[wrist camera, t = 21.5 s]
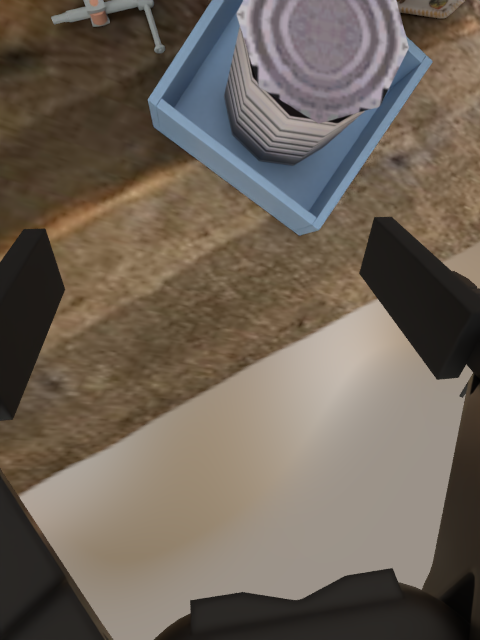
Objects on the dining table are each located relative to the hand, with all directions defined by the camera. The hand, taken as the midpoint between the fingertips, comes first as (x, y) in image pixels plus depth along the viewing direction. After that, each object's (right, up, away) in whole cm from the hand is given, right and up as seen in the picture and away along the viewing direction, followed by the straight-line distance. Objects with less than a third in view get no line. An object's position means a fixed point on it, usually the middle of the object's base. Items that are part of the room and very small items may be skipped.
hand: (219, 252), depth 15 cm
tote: (+5, +18, +21) cm, 28 cm away
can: (+5, +18, +21) cm, 28 cm away
